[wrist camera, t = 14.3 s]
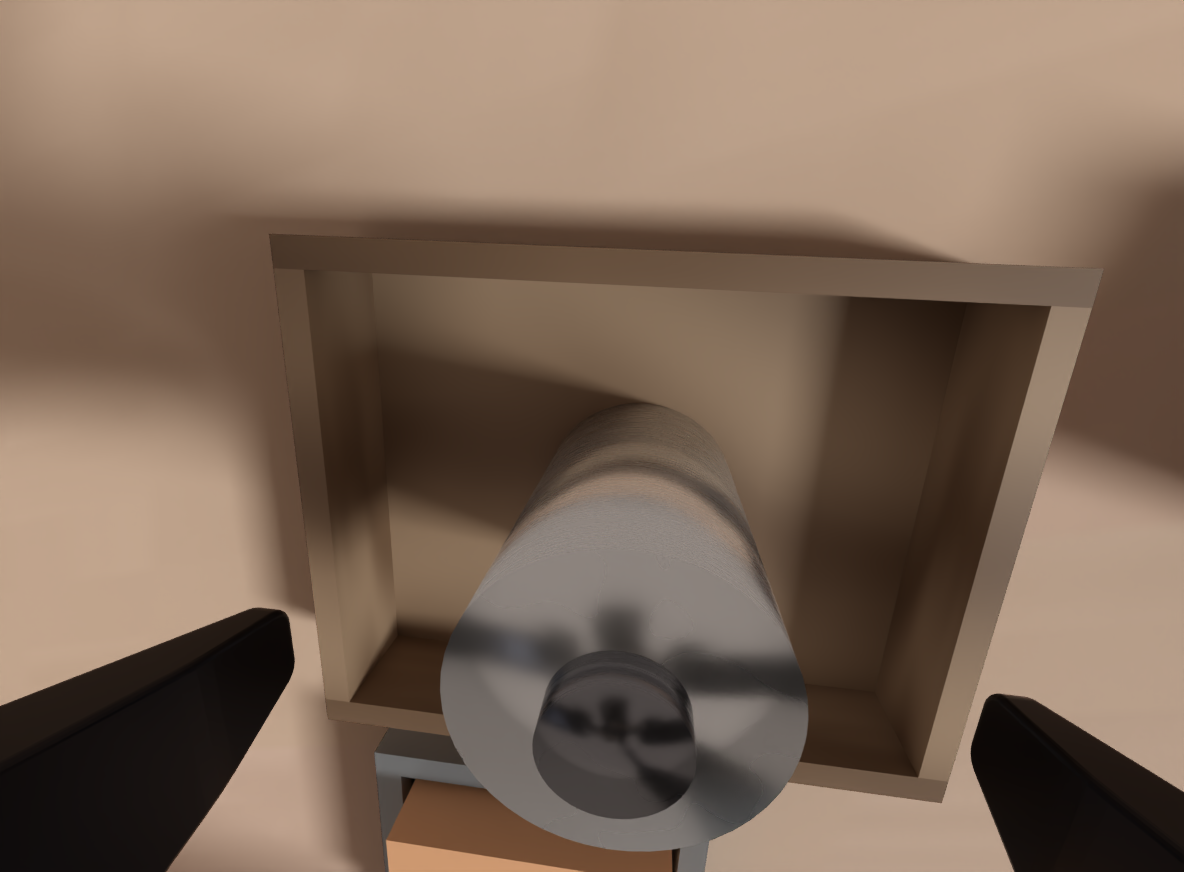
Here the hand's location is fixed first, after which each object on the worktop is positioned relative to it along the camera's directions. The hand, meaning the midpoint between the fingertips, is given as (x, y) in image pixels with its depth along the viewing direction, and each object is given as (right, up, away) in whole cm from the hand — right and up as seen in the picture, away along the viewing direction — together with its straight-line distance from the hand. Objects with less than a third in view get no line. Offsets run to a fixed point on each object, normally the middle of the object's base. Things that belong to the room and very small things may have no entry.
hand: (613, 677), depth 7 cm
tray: (+1, +2, +7) cm, 7 cm away
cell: (+1, +2, +6) cm, 7 cm away
